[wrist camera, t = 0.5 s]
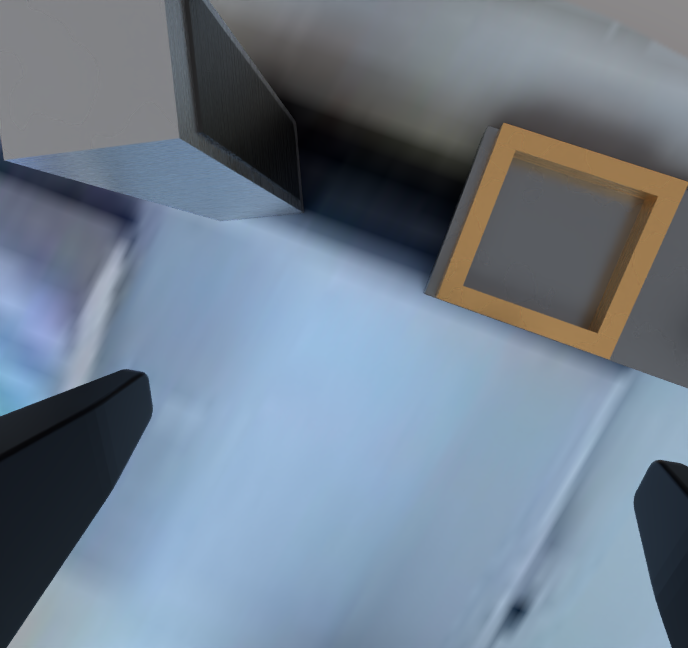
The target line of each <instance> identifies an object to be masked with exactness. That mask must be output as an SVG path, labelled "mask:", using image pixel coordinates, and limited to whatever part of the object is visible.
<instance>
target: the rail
mask: <svg viewBox="0 0 688 648" xmlns="http://www.w3.org/2000/svg"><path fill="white" fill-rule="evenodd" d="M687 186H688V182H687V181H684V180H681V179H678V178H675V177H671V176H668V175H665V174H662V173H659V172H656V171H653V170H650V169H647V168H643V167H640V166H637V165H634V164H631V163H628V162H625V161H622V160H619V159H615V158H612V157H609V156H606V155H603V154H600V153H597V152H594V151H591V150H587V149H584V148H581V147H578V146H575V145H572V144H569V143H566V142H563V141H559V140H556V139H553V138H550V137H547V136H544V135H541V134H538V133H535V132H531V131H528V130H525V129H522V128H519V127H516V126H513V125H510V124H507V123H503V124H502V126H501V127H500V129H497V128H494V127H490V126H488V127H487V129H486V130H485V132H484V134H483V136H482V139H481V141H480V144H479V147H478V149H477V152H476V155H475V157H474V160H473V163H472V165H471V168H470V171H469V173H468V176H467V179H466V181H465V184H464V186H463V189H462V192H461V194H460V197H459V200H458V202H457V205H456V208H455V210H454V213H453V216H452V218H451V221H450V224H449V226H448V229H447V231H446V234H445V237H444V239H443V242H442V245H441V247H440V250H439V253H438V255H437V258H436V261H435V263H434V266H433V268H432V271H431V274H430V276H429V279H428V282H427V284H426V287H425V290H424V292H423V293H424V294H426V295H429V296H432V297H434V298H437V299H440V300H443V301H446V302H448V303H451V304H454V305H457V306H460V307H462V308H465V309H468V310H471V311H473V312H476V313H479V314H482V315H485V316H487V317H490V318H493V319H496V320H499V321H501V322H504V323H507V324H510V325H513V326H515V327H518V328H521V329H524V330H527V331H529V332H532V333H535V334H538V335H541V336H543V337H546V338H549V339H552V340H555V341H557V342H560V343H563V344H566V345H568V346H571V347H574V348H577V349H580V350H582V351H585V352H588V353H591V354H594V355H596V356H599V357H602V358H605V359H608V360H610V361H613V362H616V363H619V364H622V365H624V366H627V367H630V368H633V369H636V370H638V371H641V372H644V373H647V374H650V375H652V376H655V377H658V378H661V379H664V380H666V381H669V382H672V383H675V384H677V385H680V386H683V387H686V388H688V190H686V188H687Z"/></svg>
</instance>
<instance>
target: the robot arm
mask: <svg viewBox="0 0 688 648" xmlns="http://www.w3.org/2000/svg"><path fill="white" fill-rule="evenodd" d="M152 412H153V405H152V398H151V391H150V384H149V379H148V376H147V375H146V374H145V373H144V372H140V371H135V370H129V369H123V370H120V371H118V372H115V373H112V374H110V375H107V376H104V377H102V378H99V379H97V380H94V381H91V382H89V383H86V384H84V385H81V386H78V387H76V388H73V389H71V390H68V391H65V392H63V393H60V394H58V395H55V396H52V397H50V398H47V399H44V400H42V401H39V402H37V403H34V404H31V405H29V406H26V407H24V408H21V409H18V410H16V411H13V412H11V413H8V414H5V415H3V416H0V648H7V646H8V645H9V643H10V642H11V641H12V639H13V638H14V636H15V635H16V633H17V632H18V630H19V629H20V627H21V626H22V624H23V623H24V621H25V620H26V618H27V617H28V615H29V614H30V612H31V611H32V609H33V608H34V606H35V605H36V603H37V602H38V600H39V599H40V597H41V596H42V594H43V593H44V591H45V590H46V588H47V587H48V586H49V584H50V583H51V581H52V580H53V578H54V577H55V575H56V574H57V572H58V571H59V569H60V568H61V566H62V565H63V563H64V562H65V560H66V559H67V557H68V556H69V554H70V553H71V551H72V550H73V548H74V547H75V545H76V544H77V542H78V541H79V539H80V538H81V536H82V535H83V533H84V532H85V530H86V529H87V528H88V526H89V525H90V523H91V522H92V520H93V519H94V517H95V516H96V514H97V513H98V511H99V510H100V508H101V507H102V505H103V504H104V502H105V501H106V499H107V498H108V496H109V494H110V493H111V491H112V490H113V488H114V486H115V485H116V483H117V481H118V479H119V478H120V476H121V474H122V472H123V470H124V468H125V466H126V464H127V463H128V461H129V459H130V457H131V455H132V453H133V451H134V449H135V448H136V446H137V444H138V442H139V440H140V438H141V436H142V434H143V433H144V431H145V429H146V427H147V425H148V423H149V421H150V419H151V416H152ZM634 510H635V515H636V519H637V523H638V528H639V532H640V536H641V541H642V545H643V549H644V554H645V558H646V562H647V567H648V571H649V576H650V580H651V584H652V588H653V592H654V595H655V599H656V602H657V605H658V609H659V612H660V615H661V618H662V621H663V624H664V627H665V629H666V632H667V635H668V638H669V641H670V644H671V647H672V648H688V467H687V466H686V465H683V464H681V463H675V462H669V461H664V460H656V461H654V462H653V463H651V465H650V466H649V468H648V470H647V472H646V474H645V476H644V478H643V480H642V481H641V483H640V485H639V487H638V489H637V491H636V493H635V496H634Z"/></svg>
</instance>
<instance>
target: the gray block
mask: <svg viewBox="0 0 688 648" xmlns="http://www.w3.org/2000/svg"><path fill="white" fill-rule="evenodd" d="M0 135H1V142H2V149H3V156H4V160H5V161H9V162H13V163H16V164H20V165H23V166H27V167H30V168H34V169H37V170H41V171H44V172H48V173H52V174H55V175H59V176H62V177H66V178H69V179H73V180H76V181H80V182H83V183H87V184H91V185H94V186H98V187H101V188H105V189H108V190H112V191H115V192H119V193H122V194H126V195H130V196H133V197H137V198H140V199H144V200H147V201H151V202H154V203H158V204H162V205H165V206H169V207H172V208H176V209H179V210H183V211H186V212H190V213H193V214H197V215H201V216H204V217H208V218H211V219H215V220H218V221H227V220H237V219H247V218H257V217H268V216H278V215H288V214H298V213H304V209H303V197H302V186H301V174H300V162H299V150H298V139H297V127H296V122H295V120H294V119H293V117H292V116H291V115H290V113H289V112H288V110H287V109H286V108H285V106H284V105H283V103H282V102H281V101H280V99H279V98H278V96H277V95H276V94H275V92H274V91H273V89H272V88H271V87H270V85H269V84H268V82H267V81H266V80H265V78H264V77H263V75H262V74H261V73H260V71H259V70H258V68H257V67H256V66H255V64H254V63H253V61H252V60H251V59H250V57H249V56H248V54H247V53H246V52H245V50H244V49H243V47H242V46H241V45H240V43H239V42H238V40H237V39H236V38H235V36H234V35H233V33H232V32H231V31H230V29H229V28H228V26H227V25H226V24H225V22H224V21H223V19H222V18H221V17H220V15H219V14H218V12H217V11H216V10H215V8H214V7H213V5H212V4H211V3H210V1H209V0H0Z"/></svg>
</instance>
